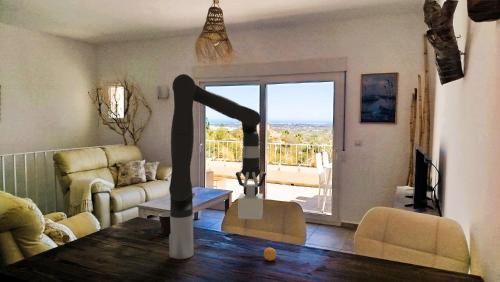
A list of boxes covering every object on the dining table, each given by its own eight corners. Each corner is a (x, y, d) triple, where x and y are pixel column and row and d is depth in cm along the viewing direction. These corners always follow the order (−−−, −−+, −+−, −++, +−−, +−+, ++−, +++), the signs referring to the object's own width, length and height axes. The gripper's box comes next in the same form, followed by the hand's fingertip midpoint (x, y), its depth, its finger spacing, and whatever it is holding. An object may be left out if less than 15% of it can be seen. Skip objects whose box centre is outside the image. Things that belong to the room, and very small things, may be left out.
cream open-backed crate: (238, 218, 144) (238, 186, 143) (240, 212, 154) (240, 182, 153) (261, 219, 143) (262, 187, 142) (262, 212, 153) (262, 182, 152)
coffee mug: (172, 237, 165) (171, 217, 164) (156, 236, 167) (155, 216, 166) (181, 229, 176) (181, 210, 176) (166, 228, 178) (166, 210, 177)
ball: (263, 262, 134) (263, 250, 133) (264, 257, 139) (263, 245, 138) (276, 262, 133) (275, 250, 133) (276, 257, 138) (276, 245, 138)
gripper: (233, 157, 144) (233, 196, 145) (266, 157, 143) (266, 197, 144) (235, 155, 151) (235, 193, 152) (267, 155, 150) (267, 193, 151)
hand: (250, 195), depth 148 cm, fingers closed on cream open-backed crate, 3 cm apart
